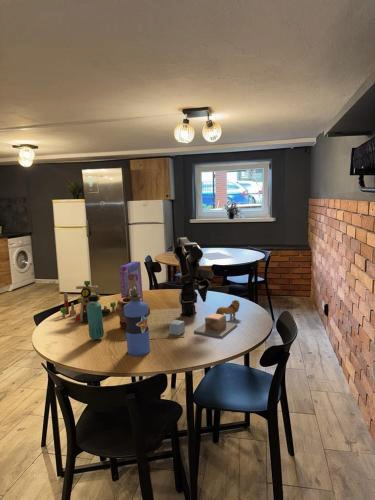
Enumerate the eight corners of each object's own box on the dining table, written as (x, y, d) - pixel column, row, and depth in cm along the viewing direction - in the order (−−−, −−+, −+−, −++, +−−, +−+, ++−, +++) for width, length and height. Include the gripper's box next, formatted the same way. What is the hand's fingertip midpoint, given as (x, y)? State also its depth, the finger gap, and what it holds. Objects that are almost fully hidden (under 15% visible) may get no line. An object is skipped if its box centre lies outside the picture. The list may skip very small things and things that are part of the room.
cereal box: (129, 308, 195) (126, 266, 191) (122, 307, 196) (119, 266, 193) (142, 299, 211) (140, 261, 208) (135, 299, 212) (133, 261, 209)
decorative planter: (158, 324, 165) (156, 297, 164) (145, 334, 154) (143, 304, 153) (123, 320, 174) (121, 294, 172) (109, 329, 163) (106, 301, 161)
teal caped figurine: (96, 343, 146) (92, 298, 144) (86, 340, 150) (81, 296, 147) (107, 338, 152) (104, 294, 149) (97, 335, 155) (93, 293, 153)
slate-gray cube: (169, 333, 154) (168, 323, 153) (175, 330, 158) (175, 319, 157) (178, 335, 151) (178, 324, 150) (184, 331, 155) (184, 321, 154)
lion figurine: (236, 315, 174) (236, 298, 173) (242, 318, 169) (242, 300, 168) (211, 320, 168) (210, 303, 166) (217, 323, 163) (216, 305, 162)
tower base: (193, 332, 153) (193, 319, 152) (210, 321, 166) (210, 309, 166) (221, 338, 146) (221, 324, 145) (237, 325, 159) (236, 312, 158)
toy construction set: (50, 322, 178) (46, 283, 175) (76, 308, 199) (73, 274, 197) (95, 325, 170) (91, 284, 167) (117, 311, 191) (114, 274, 188)
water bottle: (122, 353, 135) (117, 292, 132) (138, 344, 143) (133, 286, 140) (139, 358, 130) (135, 294, 127) (155, 349, 138) (151, 288, 134)
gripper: (198, 257, 147) (204, 292, 141) (218, 266, 162) (224, 298, 156) (177, 265, 152) (182, 299, 146) (198, 274, 167) (203, 304, 161)
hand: (199, 300), depth 152 cm, fingers open, 9 cm apart
